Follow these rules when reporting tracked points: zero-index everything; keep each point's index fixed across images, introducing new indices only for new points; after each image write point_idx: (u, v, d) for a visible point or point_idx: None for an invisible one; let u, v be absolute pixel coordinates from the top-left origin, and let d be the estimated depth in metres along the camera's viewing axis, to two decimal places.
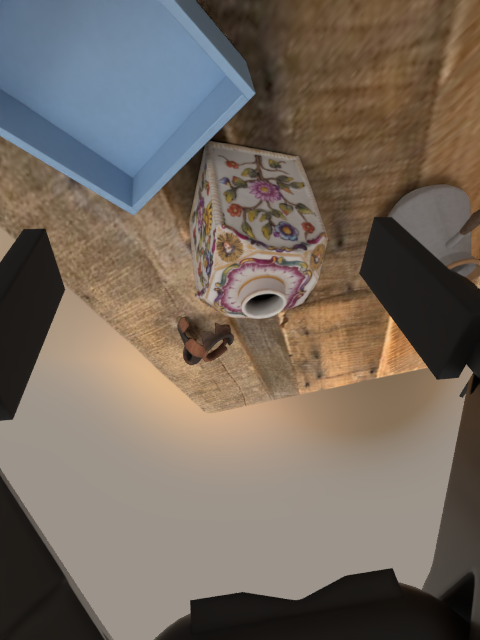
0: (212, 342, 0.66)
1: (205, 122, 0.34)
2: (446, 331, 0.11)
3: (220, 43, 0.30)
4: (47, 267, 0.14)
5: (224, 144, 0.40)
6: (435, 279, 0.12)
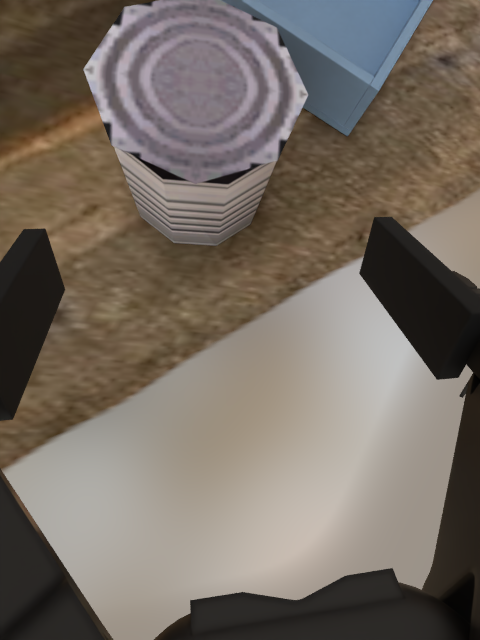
0: None
1: None
2: (446, 331, 0.11)
3: None
4: (47, 267, 0.14)
5: None
6: (435, 279, 0.12)
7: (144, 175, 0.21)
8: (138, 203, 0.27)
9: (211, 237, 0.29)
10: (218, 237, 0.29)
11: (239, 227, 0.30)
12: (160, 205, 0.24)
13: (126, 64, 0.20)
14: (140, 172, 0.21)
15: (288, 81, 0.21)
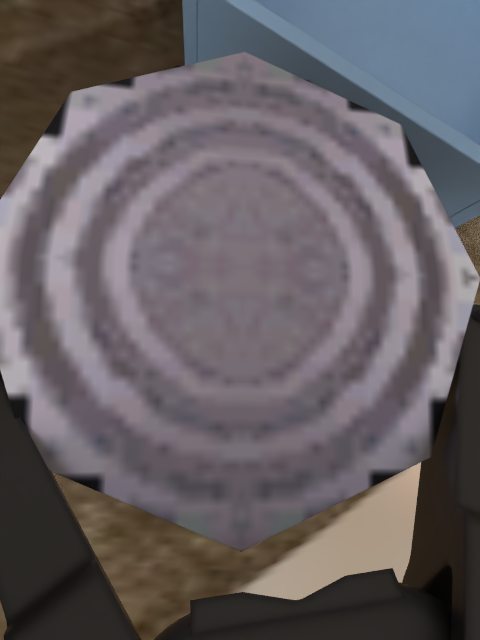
0: None
1: None
2: None
3: None
4: None
5: None
6: None
7: None
8: None
9: None
10: None
11: None
12: None
13: (72, 232, 0.08)
14: None
15: (435, 248, 0.09)
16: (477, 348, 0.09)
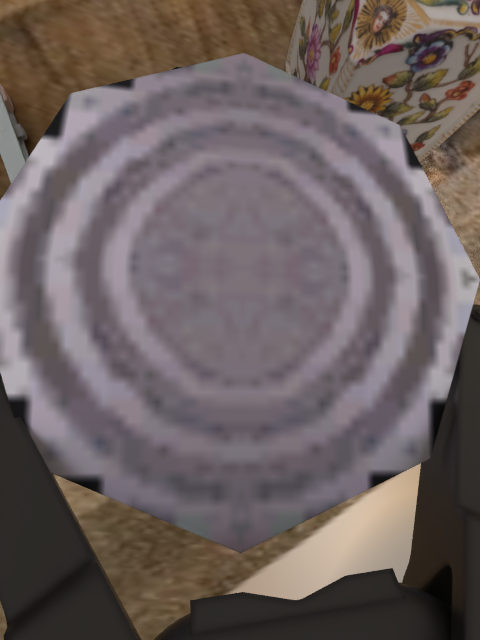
0: None
1: None
2: None
3: None
4: None
5: None
6: None
7: None
8: None
9: None
10: None
11: None
12: None
13: (72, 234, 0.08)
14: None
15: (435, 250, 0.09)
16: (477, 348, 0.09)
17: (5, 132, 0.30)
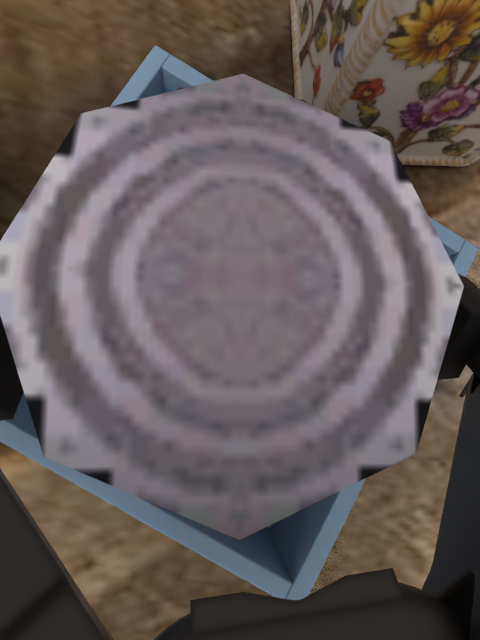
0: None
1: None
2: None
3: None
4: None
5: None
6: None
7: None
8: None
9: None
10: None
11: None
12: None
13: (83, 245, 0.09)
14: None
15: (422, 258, 0.10)
16: None
17: None
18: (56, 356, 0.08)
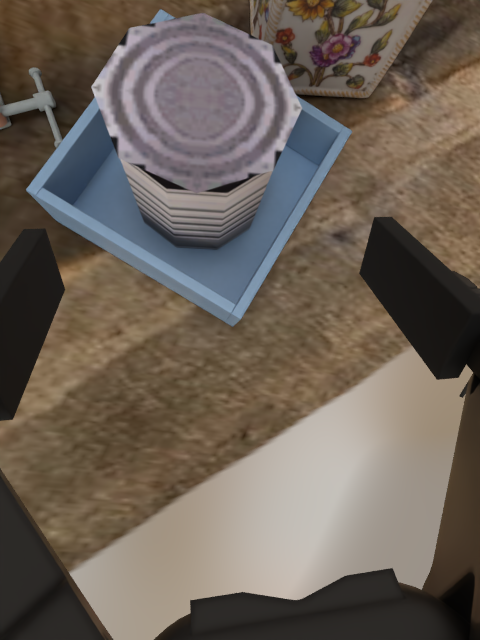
0: None
1: None
2: (446, 331, 0.11)
3: None
4: (47, 267, 0.14)
5: None
6: (435, 279, 0.12)
7: (148, 185, 0.22)
8: (142, 210, 0.29)
9: (212, 242, 0.30)
10: (218, 241, 0.30)
11: (238, 232, 0.31)
12: (163, 212, 0.25)
13: (132, 81, 0.21)
14: (144, 182, 0.22)
15: (283, 95, 0.22)
16: None
17: None
18: (122, 123, 0.20)
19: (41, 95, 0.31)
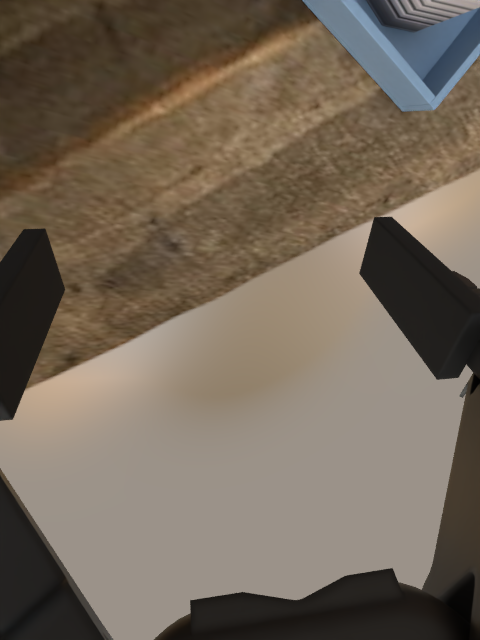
0: None
1: None
2: (446, 331, 0.11)
3: None
4: (47, 267, 0.14)
5: None
6: (435, 279, 0.12)
7: None
8: None
9: (421, 26, 0.34)
10: (426, 27, 0.35)
11: None
12: None
13: None
14: None
15: None
16: None
17: None
18: None
19: None
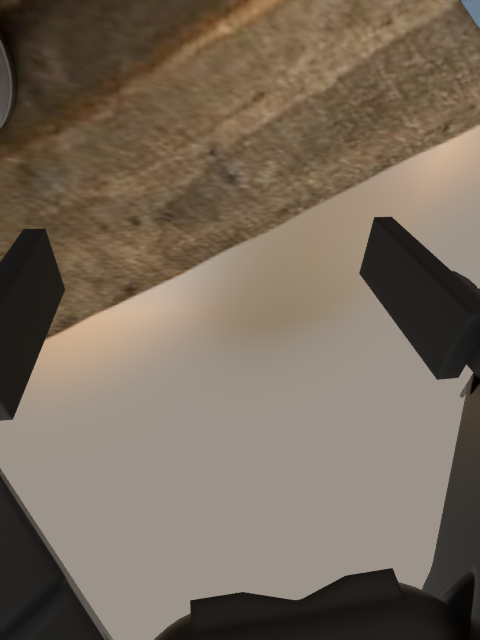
0: None
1: None
2: (446, 331, 0.11)
3: None
4: (47, 267, 0.14)
5: None
6: (435, 279, 0.12)
7: None
8: None
9: None
10: None
11: None
12: None
13: None
14: None
15: None
16: None
17: None
18: None
19: None
